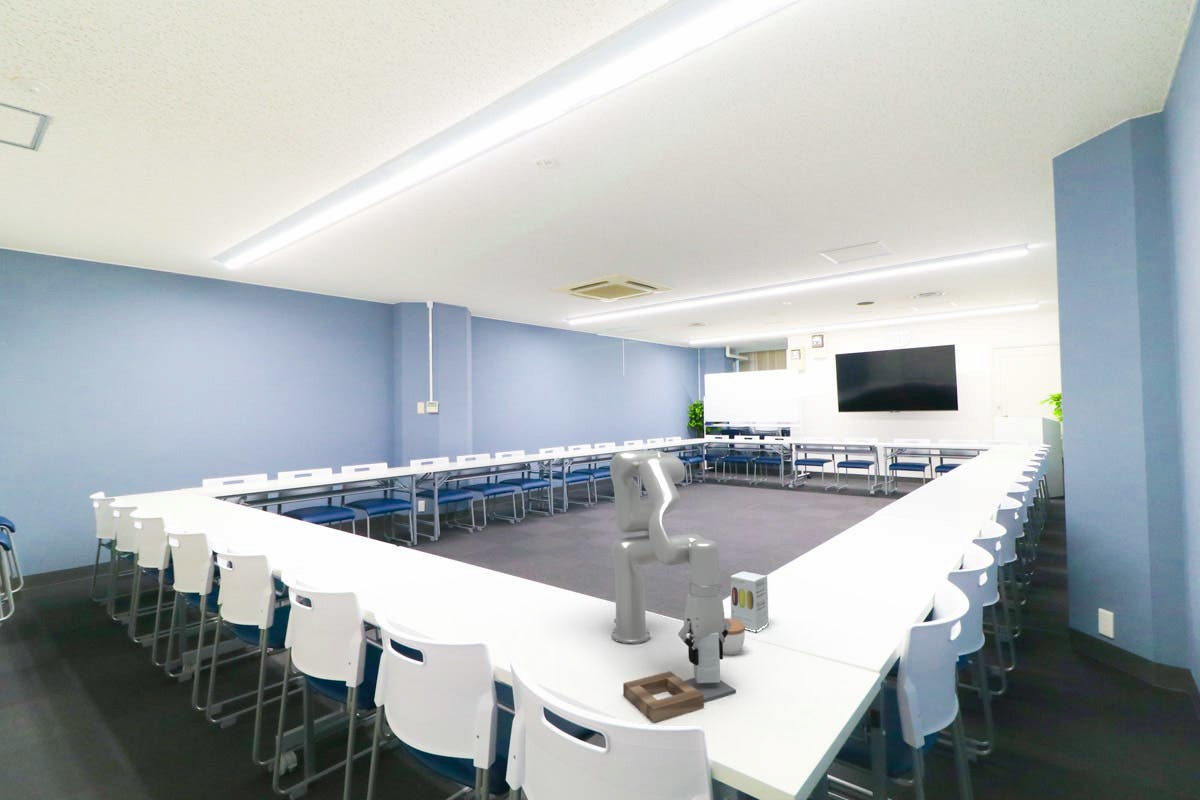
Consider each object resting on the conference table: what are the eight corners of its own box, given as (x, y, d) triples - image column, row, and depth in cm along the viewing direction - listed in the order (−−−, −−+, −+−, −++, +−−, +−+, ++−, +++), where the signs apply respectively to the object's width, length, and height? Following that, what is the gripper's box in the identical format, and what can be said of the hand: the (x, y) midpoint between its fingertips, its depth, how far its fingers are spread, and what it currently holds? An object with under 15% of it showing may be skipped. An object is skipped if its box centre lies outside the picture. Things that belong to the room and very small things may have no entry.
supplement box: (730, 626, 173) (728, 575, 174) (743, 619, 180) (741, 570, 181) (757, 633, 167) (755, 580, 168) (769, 626, 173) (767, 575, 175)
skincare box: (716, 675, 133) (715, 627, 134) (720, 683, 129) (719, 634, 130) (693, 675, 133) (692, 628, 134) (696, 683, 129) (695, 634, 129)
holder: (623, 695, 128) (623, 683, 128) (670, 683, 134) (670, 671, 134) (653, 723, 115) (653, 709, 115) (703, 707, 121) (703, 694, 122)
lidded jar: (740, 661, 146) (739, 627, 147) (704, 654, 152) (703, 621, 152) (749, 647, 156) (748, 615, 156) (714, 641, 161) (713, 610, 162)
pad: (679, 685, 133) (679, 681, 133) (710, 676, 137) (710, 673, 137) (703, 702, 124) (703, 699, 124) (736, 693, 128) (735, 689, 128)
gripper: (721, 581, 140) (723, 648, 138) (668, 590, 132) (669, 661, 131) (740, 588, 133) (742, 659, 132) (685, 598, 125) (686, 673, 124)
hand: (706, 659), depth 131 cm, fingers closed on skincare box, 7 cm apart
